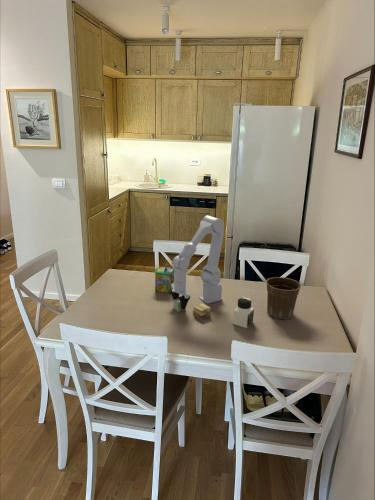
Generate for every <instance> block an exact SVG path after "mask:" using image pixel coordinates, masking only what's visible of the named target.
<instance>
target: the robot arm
mask: <svg viewBox="0 0 375 500" xmlns="http://www.w3.org/2000/svg"><path fill="white" fill-rule="evenodd" d="M199 223H200V224H199V226H198V229H197V230H196V232H195V234H194V235H193V237H192V239H191V241H190V242H187V243H186V244H184V245H183V248H182V250H181V251H180V252H179V253H178V255H176V256H175V257H173V258H172V261H171V266H173V268H174V284H171V288H172V289H170V293H169V294H170V295H171V298H172V301H173V300H175V299H179V300H180V305H181V310H183V311H185V310H184V309H187V305H188V303H189V300H190V299H191V296H190V294H189V292H188V290H187V269H188V268H189V266H190V262H191V259H192V257H193V256H194V254H195V253H196V252H197V246H198V245H199V244H200V242H202V240H203V239H204V238H205V236H206V235H207V234H211V239H210V240H211V241H210V248H209V252H208V258H207V262H206V264H205V265H204V266H203V268H202V271H201V272H200V279H201V280H202V283H203V285H202V296H199V299H201V300H202V301H203V302H205V303H206V304H212V303H216V302H219V301H222V300H223V299H222V293H223V287H222V284H221V281H222V280H221V279H222V278H221V270H220V269H219V267H218V266H219V262H220V257H221V251H222V246H223V245H222V244H223V240H224V235H225V231H224V228H225V222H224V221H223V219H222V218H218V217H214V216H211V215H209V214H208V215H205V216H204V217H202V220H201V221H200V222H199ZM180 295H181V296H180Z"/></svg>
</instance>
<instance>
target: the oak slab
mask: <svg viewBox="0 0 375 500" xmlns="http://www.w3.org/2000/svg"><path fill="white" fill-rule="evenodd" d="M193 310H194V312H196V313H198V314H200V315H201V316H202V315H204V314H207V313H209V312H210V313H211V306H208V305H206V304H205V303H203V302H201V303H200V304H197V305H194V306H193Z"/></svg>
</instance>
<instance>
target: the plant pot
mask: <svg viewBox="0 0 375 500" xmlns="http://www.w3.org/2000/svg"><path fill="white" fill-rule="evenodd" d="M265 284H266V291H267V297H266V298H267V302H266V303H267V308H266V309H267V310H266V311H267V314H268V316H270V317H272V318H274V319H277V320H278V319H282V320H289V319H291V318H293V316H294V312H295V306H296V304H297V298H298V295H299V293H300V290H301V288H302V284H301V282H299V281H297V280H296V279H292V278H288V277H284V276H283V277H280V276H279V277H278V276H275V277H269V278H267V279H266V280H265Z"/></svg>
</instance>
